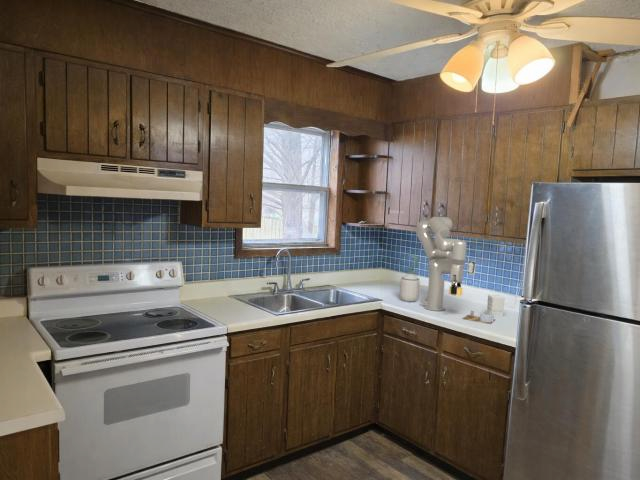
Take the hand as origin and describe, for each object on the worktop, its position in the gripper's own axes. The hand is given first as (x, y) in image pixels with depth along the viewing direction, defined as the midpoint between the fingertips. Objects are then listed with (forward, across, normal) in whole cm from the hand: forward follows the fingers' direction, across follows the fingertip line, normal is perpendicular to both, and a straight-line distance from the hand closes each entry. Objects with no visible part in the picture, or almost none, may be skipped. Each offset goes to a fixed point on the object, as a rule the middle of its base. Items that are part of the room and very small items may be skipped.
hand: (455, 292), depth 269 cm
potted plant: (+16, -27, -38) cm, 49 cm away
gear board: (+15, -5, +13) cm, 21 cm away
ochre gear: (+1, 0, 0) cm, 1 cm away
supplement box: (+16, -23, +18) cm, 33 cm away
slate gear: (+14, -5, +17) cm, 23 cm away
